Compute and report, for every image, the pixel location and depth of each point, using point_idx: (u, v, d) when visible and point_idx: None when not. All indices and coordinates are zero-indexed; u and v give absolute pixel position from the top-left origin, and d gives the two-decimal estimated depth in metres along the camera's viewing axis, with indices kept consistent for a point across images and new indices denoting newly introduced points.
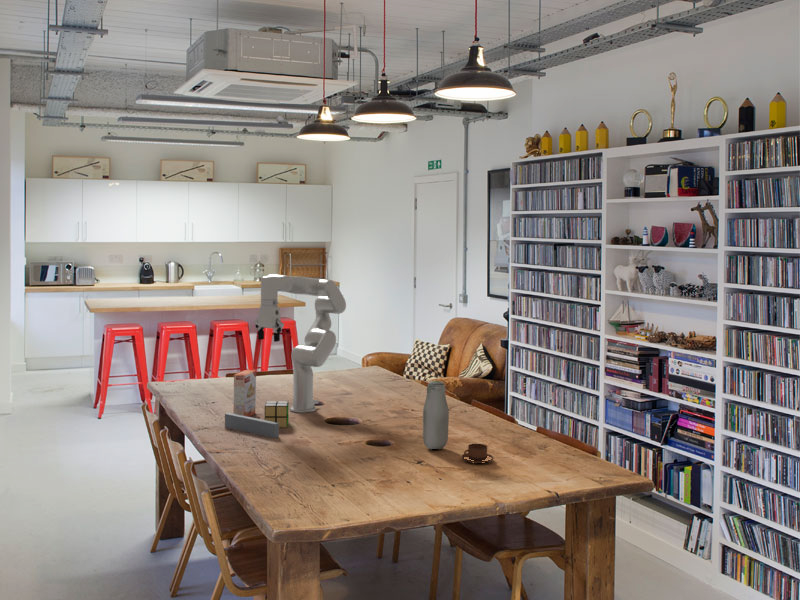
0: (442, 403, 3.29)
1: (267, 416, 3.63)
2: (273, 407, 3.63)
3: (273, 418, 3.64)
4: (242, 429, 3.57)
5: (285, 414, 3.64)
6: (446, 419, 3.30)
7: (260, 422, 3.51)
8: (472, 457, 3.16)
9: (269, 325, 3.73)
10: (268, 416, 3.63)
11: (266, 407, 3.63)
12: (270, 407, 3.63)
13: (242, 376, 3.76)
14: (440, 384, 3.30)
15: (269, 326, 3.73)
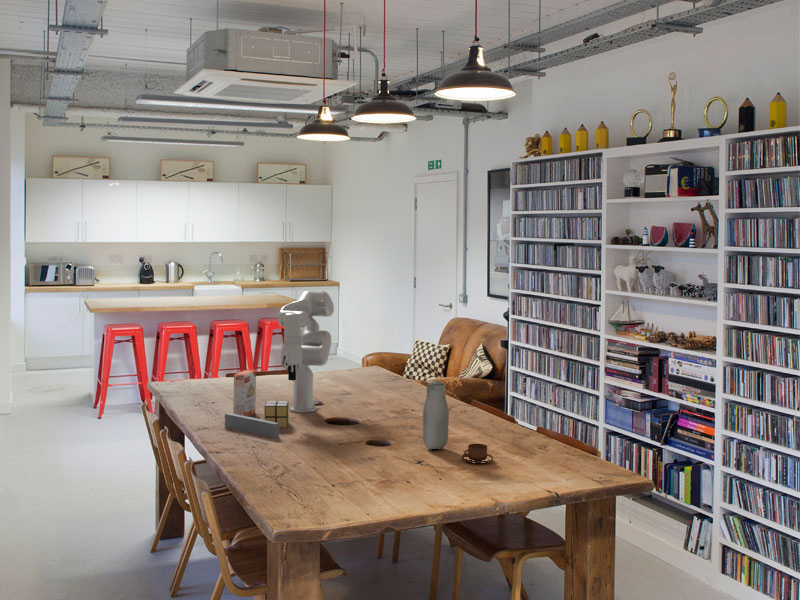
0: (441, 403, 3.29)
1: (267, 416, 3.63)
2: (273, 407, 3.63)
3: (273, 418, 3.64)
4: (242, 429, 3.57)
5: (285, 414, 3.64)
6: (446, 419, 3.30)
7: (260, 422, 3.51)
8: (472, 457, 3.16)
9: (299, 361, 3.76)
10: (268, 416, 3.63)
11: (266, 407, 3.63)
12: (270, 407, 3.63)
13: (242, 376, 3.76)
14: (440, 384, 3.30)
15: (299, 362, 3.75)
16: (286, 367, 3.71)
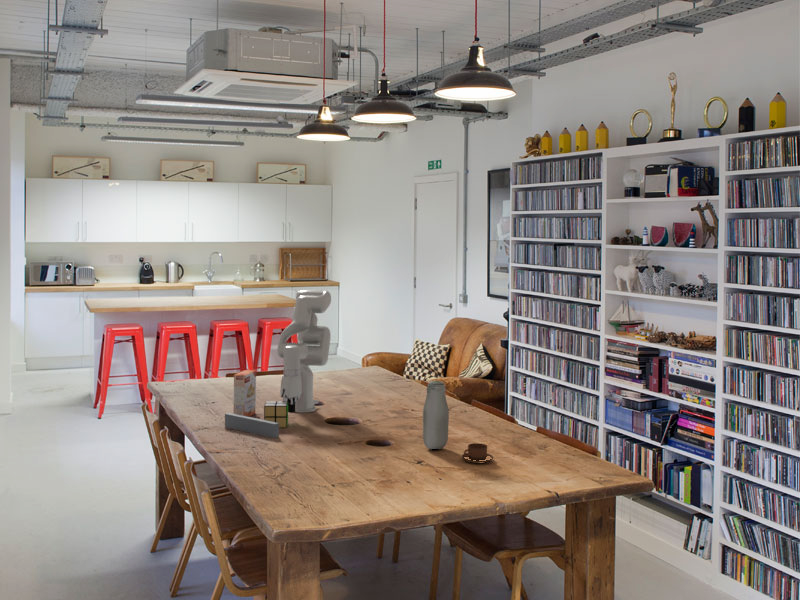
0: (441, 403, 3.29)
1: (266, 416, 3.63)
2: (273, 407, 3.63)
3: (273, 418, 3.64)
4: (242, 429, 3.57)
5: (285, 414, 3.64)
6: (446, 419, 3.30)
7: (260, 422, 3.51)
8: (472, 457, 3.16)
9: (298, 394, 3.77)
10: (268, 416, 3.63)
11: (266, 407, 3.63)
12: (270, 407, 3.63)
13: (242, 376, 3.76)
14: (440, 384, 3.30)
15: (298, 394, 3.77)
16: (285, 400, 3.72)
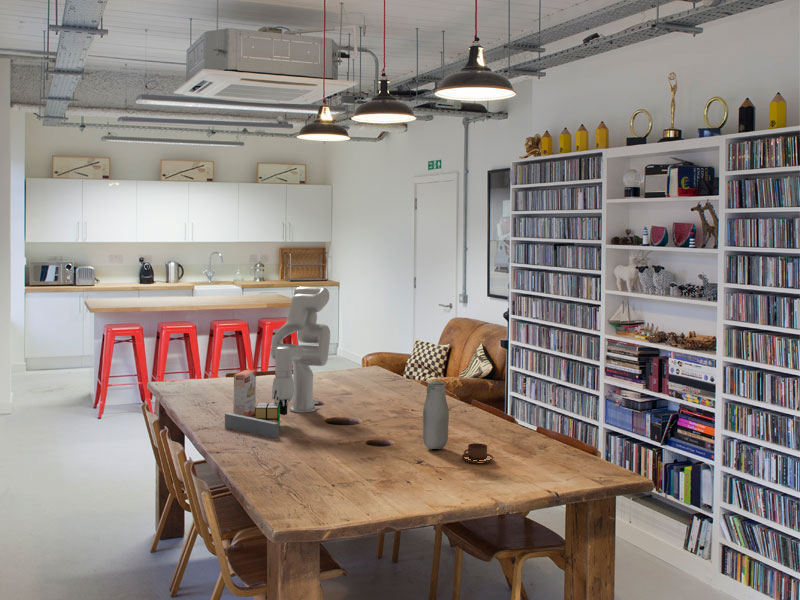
0: (441, 403, 3.29)
1: (257, 418, 3.59)
2: (263, 409, 3.59)
3: None
4: (242, 429, 3.57)
5: (276, 416, 3.59)
6: (446, 419, 3.30)
7: (260, 422, 3.51)
8: (472, 457, 3.16)
9: (290, 396, 3.72)
10: (258, 418, 3.59)
11: (256, 409, 3.58)
12: (260, 409, 3.59)
13: (242, 376, 3.76)
14: (440, 384, 3.30)
15: (290, 396, 3.72)
16: (277, 402, 3.68)
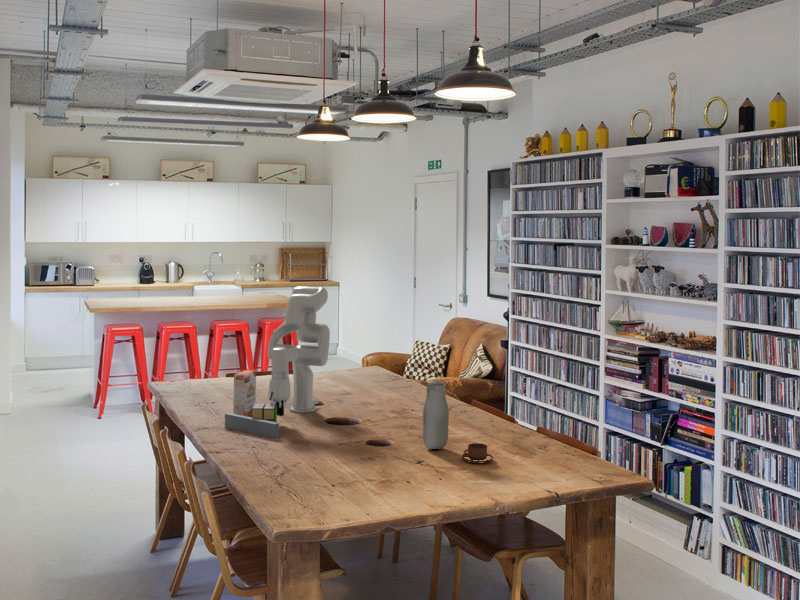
0: (441, 403, 3.29)
1: None
2: (260, 410, 3.57)
3: None
4: (242, 429, 3.57)
5: (272, 417, 3.58)
6: (446, 419, 3.30)
7: (260, 422, 3.51)
8: (472, 457, 3.16)
9: (287, 396, 3.71)
10: None
11: (253, 410, 3.57)
12: (257, 410, 3.57)
13: (242, 376, 3.76)
14: (440, 384, 3.30)
15: (286, 397, 3.70)
16: (274, 403, 3.66)
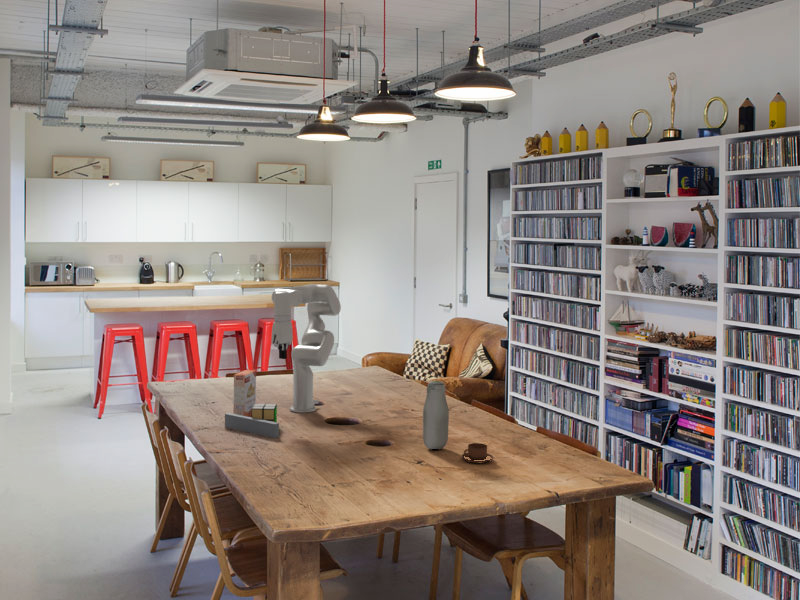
0: (441, 403, 3.29)
1: None
2: (260, 410, 3.57)
3: None
4: (242, 429, 3.57)
5: (272, 417, 3.58)
6: (446, 419, 3.30)
7: (260, 422, 3.51)
8: (472, 457, 3.16)
9: (289, 340, 3.76)
10: None
11: (253, 410, 3.57)
12: (257, 410, 3.57)
13: (242, 376, 3.76)
14: (440, 384, 3.30)
15: (289, 340, 3.76)
16: (277, 346, 3.71)
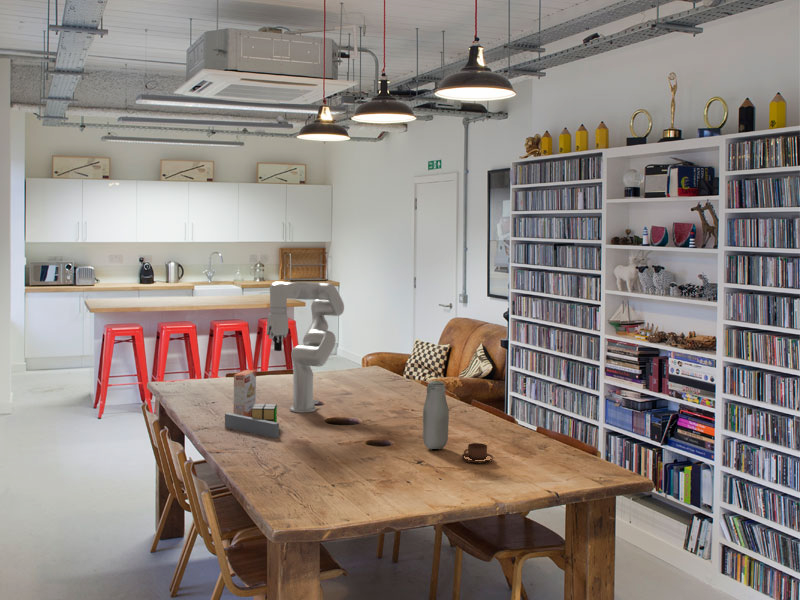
0: (441, 403, 3.29)
1: None
2: (260, 410, 3.57)
3: None
4: (242, 429, 3.57)
5: (272, 417, 3.58)
6: (446, 419, 3.30)
7: (260, 422, 3.51)
8: (472, 457, 3.16)
9: (285, 332, 3.77)
10: None
11: (253, 410, 3.57)
12: (257, 410, 3.57)
13: (242, 376, 3.76)
14: (440, 384, 3.30)
15: (284, 333, 3.77)
16: (272, 337, 3.72)
